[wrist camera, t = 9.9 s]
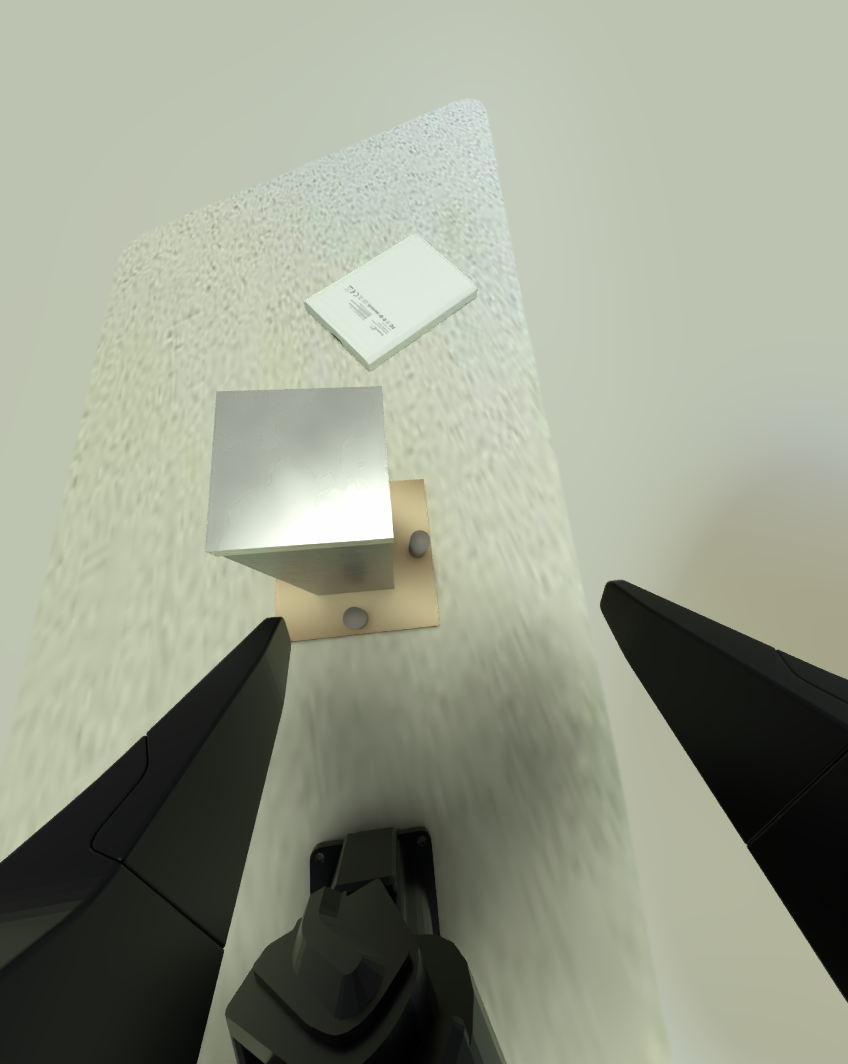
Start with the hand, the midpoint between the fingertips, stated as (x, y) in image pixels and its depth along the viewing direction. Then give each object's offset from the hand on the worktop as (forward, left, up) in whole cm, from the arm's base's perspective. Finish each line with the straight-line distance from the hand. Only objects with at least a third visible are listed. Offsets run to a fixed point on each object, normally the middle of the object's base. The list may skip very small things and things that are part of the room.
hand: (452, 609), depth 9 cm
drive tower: (+5, +4, -13) cm, 14 cm away
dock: (+5, +4, -14) cm, 15 cm away
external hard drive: (+27, 0, -14) cm, 30 cm away
